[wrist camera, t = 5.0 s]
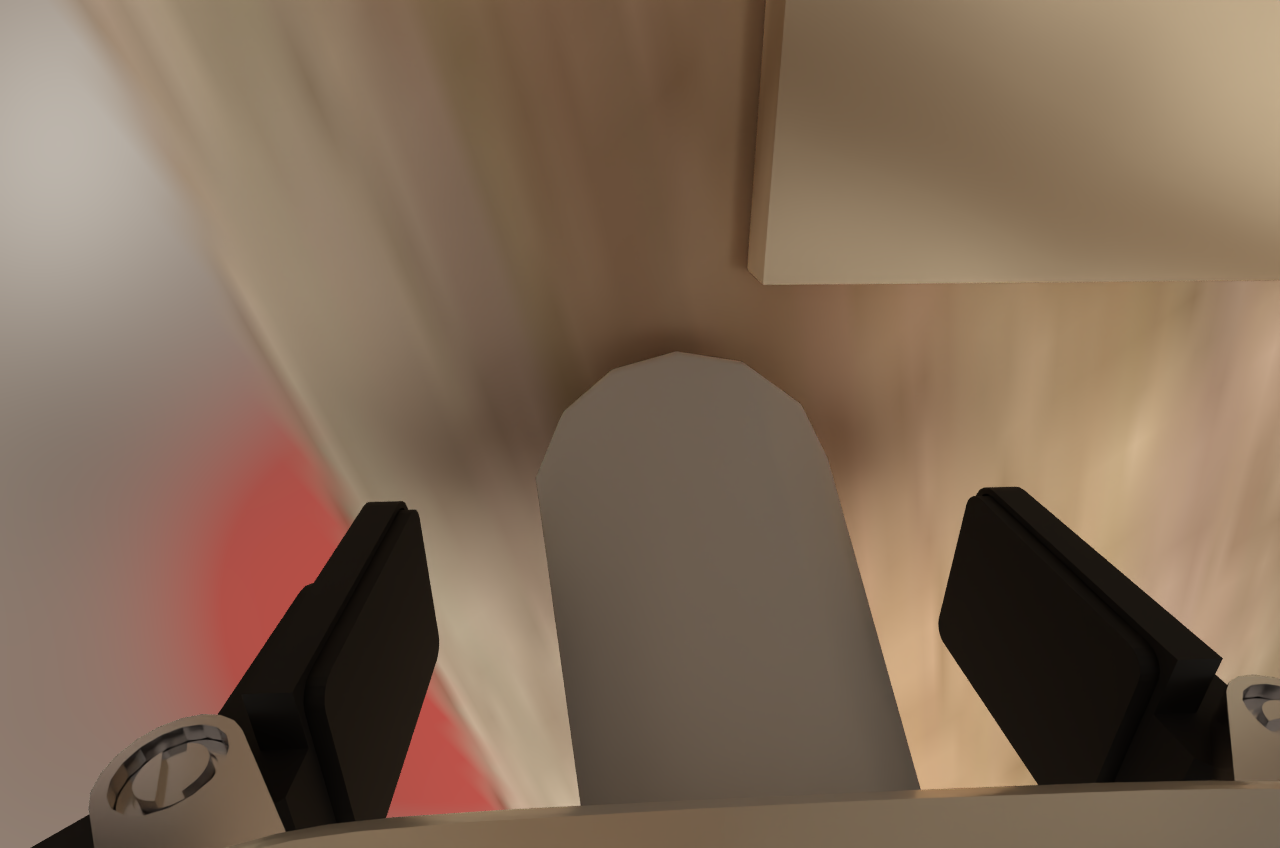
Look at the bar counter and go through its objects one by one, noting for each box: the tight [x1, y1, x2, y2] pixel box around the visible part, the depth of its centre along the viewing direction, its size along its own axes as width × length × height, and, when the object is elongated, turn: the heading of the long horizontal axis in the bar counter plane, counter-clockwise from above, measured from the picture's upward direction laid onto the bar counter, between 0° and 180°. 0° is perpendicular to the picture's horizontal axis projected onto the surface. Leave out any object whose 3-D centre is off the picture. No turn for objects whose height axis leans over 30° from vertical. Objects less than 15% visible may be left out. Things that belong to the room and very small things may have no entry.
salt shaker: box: [536, 351, 921, 806], centre depth 9 cm, size 6×6×13 cm
